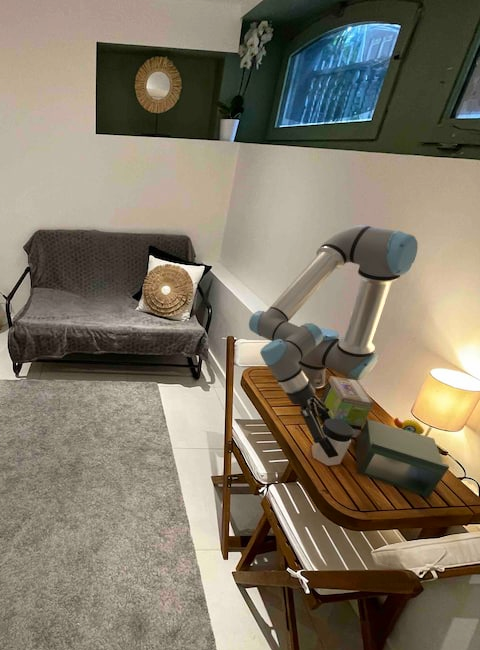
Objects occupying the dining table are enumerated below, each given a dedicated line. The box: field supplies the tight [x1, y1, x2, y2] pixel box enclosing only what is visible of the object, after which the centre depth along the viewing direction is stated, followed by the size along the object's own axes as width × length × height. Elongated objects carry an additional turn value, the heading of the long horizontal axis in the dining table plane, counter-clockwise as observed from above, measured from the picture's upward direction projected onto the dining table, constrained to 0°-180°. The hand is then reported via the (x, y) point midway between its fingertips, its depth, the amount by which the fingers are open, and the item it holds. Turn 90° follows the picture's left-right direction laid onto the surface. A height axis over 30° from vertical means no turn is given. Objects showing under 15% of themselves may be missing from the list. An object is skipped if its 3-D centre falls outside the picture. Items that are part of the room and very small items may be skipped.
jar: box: [310, 419, 354, 467], centre depth 115 cm, size 9×8×12 cm
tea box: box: [319, 375, 375, 438], centre depth 131 cm, size 15×10×15 cm, turn 168°
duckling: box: [393, 417, 425, 435], centre depth 123 cm, size 11×5×10 cm, turn 47°
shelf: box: [354, 418, 450, 498], centre depth 113 cm, size 16×18×12 cm
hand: (333, 443), depth 115 cm, fingers open, 13 cm apart
